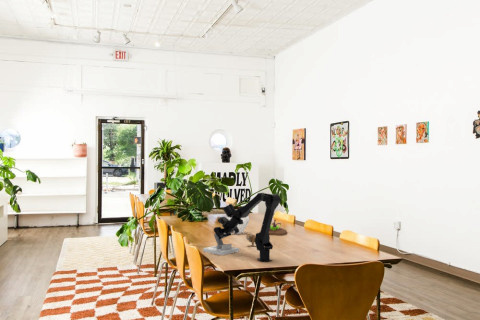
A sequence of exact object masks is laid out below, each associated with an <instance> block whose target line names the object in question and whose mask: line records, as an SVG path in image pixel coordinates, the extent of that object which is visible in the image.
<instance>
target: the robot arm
mask: <svg viewBox="0 0 480 320" xmlns="http://www.w3.org/2000/svg"><path fill="white" fill-rule="evenodd" d="M261 202H264V204H265V212H264V216H263V220H262V224H261V228H260V231H259V232H257V233H255V236H256V237H255V239H254V240H255V242H254V245H255V247H256V250H257V251H259V258H257V260H258V261H259V262H272V259H271V257H270V256H271V255H270V253H271V250H273V247H274V246H273V244H272V243H271V240H270V238H271V237H270V236H271V235H269V230H270V226H272V225H271V224H272V223H273V222H272V221H273V217H274V215H275V214H274V213H275V210H276V209H277V207H278V206H279V204H280V202H281V197H280V195H279V194H278V193H266V192H258V193H257V194H256V195H255V196H254V197H253V198H251V200H249V201H248V202H247V203H246V204H245V205H242V206H240V207H239V208H237V209H236V208H235V207H234V205H233V204H232V203H229V204H228V205H226V206H224V207H223V209H222V210H223V212H224V214H225V215H226V216H219V218H218V219H217V223H219V224H221V226H222V227H221V226H216V227H214V228H213V229H212V230H213V231H214V232H215V233H216V235H217V237H219V239H222V240H223V239H225V238H228V237H230V236H232V234H233V235H239V234H240V233H239V229H238V228H237V225H238V224H239V225H240V224H243V220H242V218H245V217H247V216H249V215H250V214H251V211H252V210H253V209H254V208H255V207H256V206H257V205H259V204H260V203H261ZM226 217H229V218H231V219H229V220H228V219H227V218H226ZM245 219H246V218H245ZM239 225H238V226H239ZM240 226H241V225H240ZM234 231H235V232H234ZM238 233H239V234H238ZM264 246H265V247H264Z"/></svg>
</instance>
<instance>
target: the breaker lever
mask: <svg viewBox="0 0 480 320" xmlns="http://www.w3.org/2000/svg"><path fill="white" fill-rule="evenodd" d="M212 234H213V236H214V240H215V242H216V244H217V245H219V248H222V245H224V244H225V243H224V242H223V238H222V239H219V237H217V235H216V233H215V232H214V230H213V231H212ZM217 245H216V246H217Z"/></svg>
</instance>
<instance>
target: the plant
mask: <svg viewBox="0 0 480 320" xmlns="http://www.w3.org/2000/svg"><path fill="white" fill-rule="evenodd" d="M276 222H277V219H274V220H273V222H271V226H270V230H269V236H277V237H282V236H286V235H288V231H287V229H284V228H282V227H281V226H282V225H283V224H282V223H281V222H278V223H276Z"/></svg>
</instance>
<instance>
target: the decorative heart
mask: <svg viewBox="0 0 480 320" xmlns="http://www.w3.org/2000/svg"><path fill="white" fill-rule="evenodd" d="M225 217H226V218H227V219H228V220H230V219H231V218H230V217H227V216H225ZM241 219H242V220H243V224H240V225H239V224H238V225H237V228H238V229H239V233H238V234H237V235H239V234H240V235H242V234H243V235H244V233H245V229H246V228H247V226H248V225H249V221H250V216H249V215H248V216H247V217H245V218H241ZM233 233H235V231H234V232H233Z"/></svg>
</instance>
